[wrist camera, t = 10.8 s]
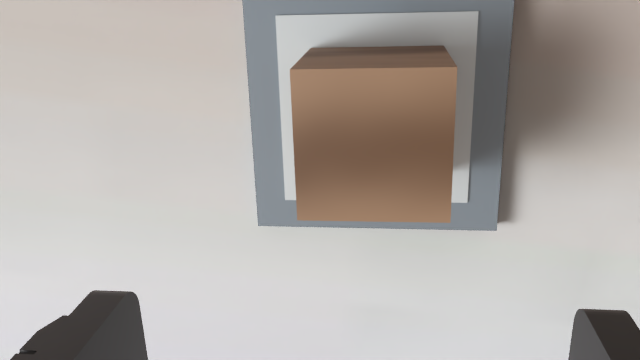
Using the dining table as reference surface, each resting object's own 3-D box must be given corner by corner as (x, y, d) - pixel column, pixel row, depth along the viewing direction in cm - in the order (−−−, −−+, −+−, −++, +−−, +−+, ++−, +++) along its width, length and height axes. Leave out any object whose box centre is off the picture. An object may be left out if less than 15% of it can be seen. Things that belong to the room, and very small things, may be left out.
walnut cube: (310, 47, 27) (289, 69, 22) (443, 45, 27) (457, 67, 21) (315, 171, 29) (297, 220, 24) (439, 172, 29) (450, 222, 23)
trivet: (245, -19, 28) (240, -19, 27) (512, -27, 26) (516, -27, 25) (261, 219, 32) (257, 226, 31) (493, 224, 30) (496, 231, 29)
